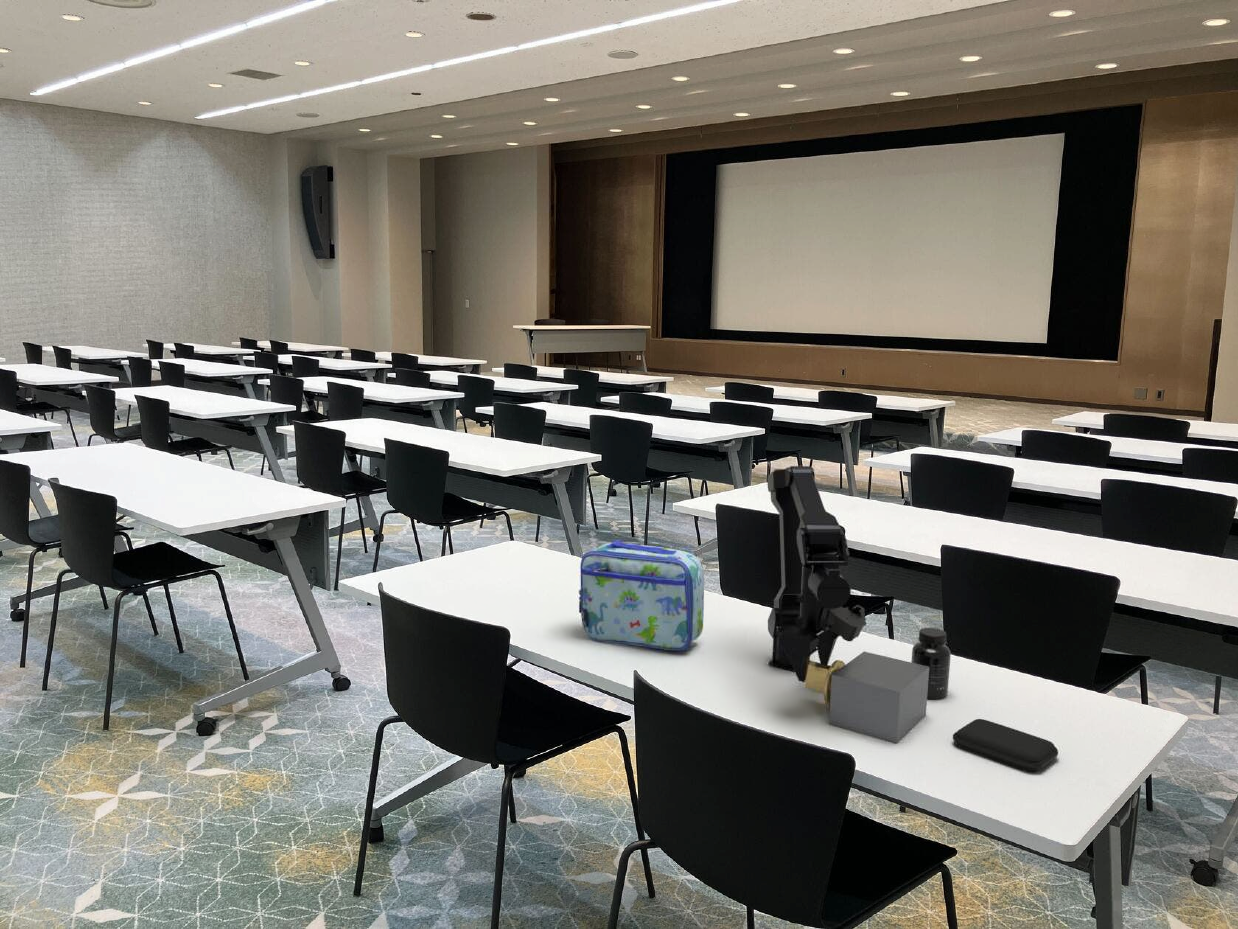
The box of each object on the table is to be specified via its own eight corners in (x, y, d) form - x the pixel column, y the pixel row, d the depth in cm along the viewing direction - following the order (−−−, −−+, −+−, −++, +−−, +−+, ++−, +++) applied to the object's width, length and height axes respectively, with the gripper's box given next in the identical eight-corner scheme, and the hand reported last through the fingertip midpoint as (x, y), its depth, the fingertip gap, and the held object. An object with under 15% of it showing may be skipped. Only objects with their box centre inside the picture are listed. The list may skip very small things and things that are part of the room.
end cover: (796, 706, 176) (798, 661, 174) (817, 691, 182) (819, 648, 181) (852, 721, 169) (855, 675, 168) (871, 705, 176) (874, 661, 175)
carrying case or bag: (1064, 757, 159) (977, 728, 169) (1066, 739, 158) (978, 711, 169) (1036, 779, 152) (947, 747, 162) (1038, 761, 151) (948, 730, 161)
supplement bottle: (901, 688, 185) (905, 627, 183) (931, 683, 187) (935, 623, 185) (924, 702, 179) (929, 639, 176) (955, 697, 181) (960, 635, 179)
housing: (829, 724, 169) (831, 674, 167) (861, 698, 180) (864, 651, 179) (896, 743, 162) (900, 692, 160) (925, 715, 173) (929, 666, 172)
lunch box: (573, 639, 208) (573, 544, 205) (595, 624, 218) (596, 533, 214) (688, 660, 198) (690, 559, 194) (706, 643, 207) (709, 547, 204)
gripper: (838, 613, 163) (833, 702, 165) (880, 586, 178) (875, 668, 180) (777, 600, 169) (773, 685, 172) (823, 575, 184) (819, 654, 187)
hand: (813, 673), depth 178 cm, fingers open, 9 cm apart
